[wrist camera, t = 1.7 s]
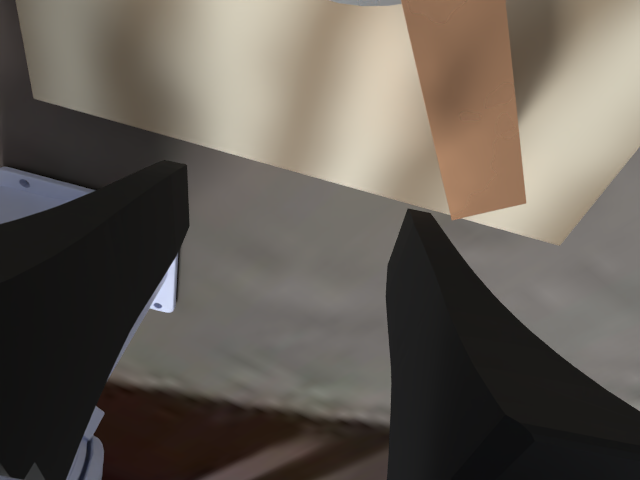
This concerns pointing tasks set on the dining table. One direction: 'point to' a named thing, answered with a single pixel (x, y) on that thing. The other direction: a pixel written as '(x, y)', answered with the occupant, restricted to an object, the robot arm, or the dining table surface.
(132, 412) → the dining table surface
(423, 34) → the grey and orange-brown pieces
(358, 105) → the base board
